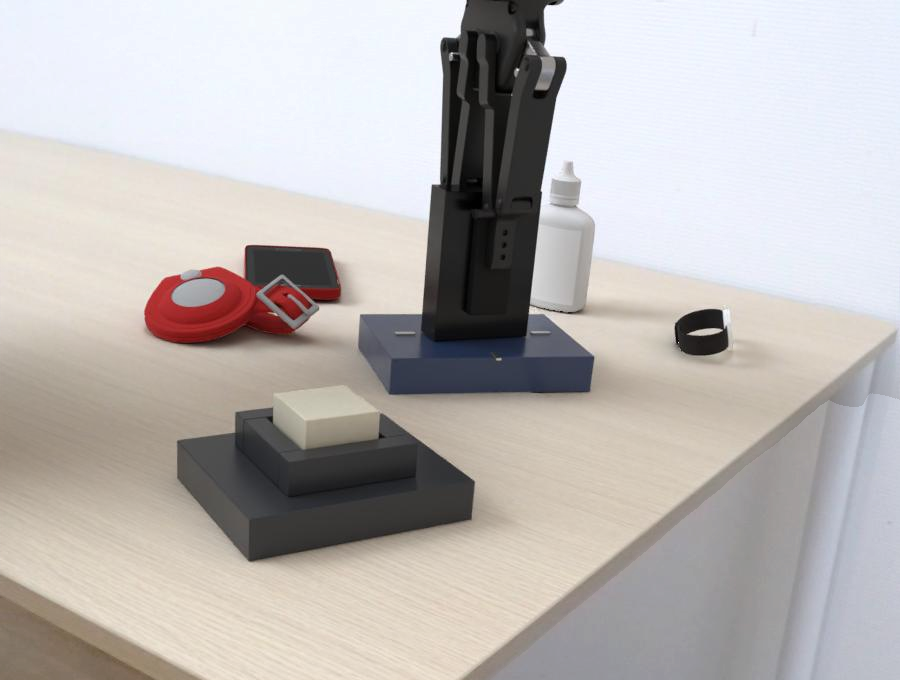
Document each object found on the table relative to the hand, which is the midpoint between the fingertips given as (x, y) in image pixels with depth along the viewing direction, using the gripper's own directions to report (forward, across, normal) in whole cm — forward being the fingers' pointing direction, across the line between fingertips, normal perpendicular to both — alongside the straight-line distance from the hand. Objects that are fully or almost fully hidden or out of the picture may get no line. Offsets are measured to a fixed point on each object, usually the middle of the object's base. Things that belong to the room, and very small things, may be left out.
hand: (476, 306), depth 80 cm
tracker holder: (+5, +11, +14) cm, 19 cm away
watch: (+5, +1, -20) cm, 21 cm away
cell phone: (+5, +25, +5) cm, 26 cm away
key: (+1, -18, +17) cm, 24 cm away
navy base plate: (+5, 0, 0) cm, 5 cm away
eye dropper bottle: (+5, +14, -14) cm, 21 cm away
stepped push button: (+5, -18, +17) cm, 25 cm away
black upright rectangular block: (+2, 0, 0) cm, 2 cm away
